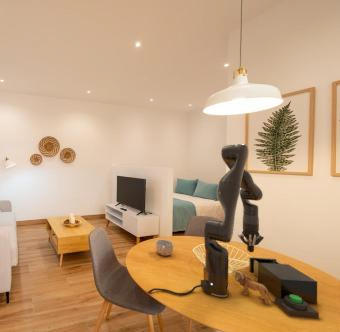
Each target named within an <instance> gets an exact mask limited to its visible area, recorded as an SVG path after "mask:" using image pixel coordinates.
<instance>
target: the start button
mask: <svg viewBox="0 0 340 332" xmlns="http://www.w3.org/2000/svg"><path fill="white" fill-rule="evenodd" d="M290 300H291V301H292V302H294V303H298V304H302V298H301V297H299V296H296V295H292V294H291V295H290Z"/></svg>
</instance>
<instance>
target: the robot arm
mask: <svg viewBox="0 0 340 332" xmlns="http://www.w3.org/2000/svg"><path fill="white" fill-rule="evenodd" d="M220 155H221V158H222V160H223V162H224V163H225V165H226V166H227V167H228V169H229V170H228V171H227V172H226V173H225V174H224V175H223V176H222V177H221V178H220V179H219V181H218V183H217V188H216V193H215V194H216V197H217V200H218V202H219V204H220V206H221V207H222V210H223V213H224V214H223V215H224V219H223V220H219V219H214V218H207V219H206V220H205V221H204V224H203V238H204V239H203V242H204V243H203V244H204V251H205V253H204V254H205V255H204V258H205V259H204V267H203V279H200V284H198V285H195V286H193V287H192V288H191V289H190V290H189V291H186V292H175V291H173V290H171V289H167V288H156V287H155V288H151V289H149V290H148V291H147V294H151V293H152V292H153V291H162V292H168V293H171V294H174V295H177V296H178V295H179V296H185V295H189V294H191V293H193V292H194V291H195V290H196V289H198V288H201V289H202V290H203V292H206V293H207V294H208V295H209V296H214V297H216V298H227V297H229V290H230V285H229V251H228V249H227V248H226V247H224V246H222V245H221V244H220V243H225V244H228V243H229V244H230V242H231V241H232V238H233V234H234V227H235V219H236V210H237V205H238V201H239V198H240V199H241V203H242V208H243V209H242V213H243V214H242V231H241V233H240V234H238V235H237V237H238V239H240V241H241V242H242V243H243V244H245V245H246V249H247V251H248V252H249V253H254V252H255V246H258V245H259V244H260V243H261V242H262V241H263V240H264V236H262V235H260V232H259V231H260V217H259V205H257V204H255V203H252V202H250V201H255V202H256V201H257V202H258V201H261V200H262V199H263V198H264V197H263V196H264V194H263V191H262V189H261V188H260V187H259V185H258V184H257V183H255V181H254V179H253V176H252V174H251V173H250V172H249V171H248V170H247V169H245V167H246V165H247V161H248V158H249V146H248V145H247V144H245V143H236V144H227V145H224V146H223V147H222V148H221V151H220ZM219 242H220V243H219ZM142 332H144V331H142Z"/></svg>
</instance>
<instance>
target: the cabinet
mask: <svg viewBox="0 0 340 332" xmlns="http://www.w3.org/2000/svg"><path fill="white" fill-rule="evenodd" d="M257 283H259V284H262V285H264V286H265V287H266V289H267V290H268V292H269V293H270V294H272V295H273V296H274V298H285V296H287V295H289V296H290V295H291V294H292V295H296V296H299V297H301V298H302V300H304V301H305V302H307V304H308V305H318V281H317V280H316V279H314V278H312V277H310V276H309V275H307V274H305V273H304V272H302V271H300V270H298V269H297V268H295V267H293V266H292V265H290V264H288V263H281V264H273V263H258V277H257Z"/></svg>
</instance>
